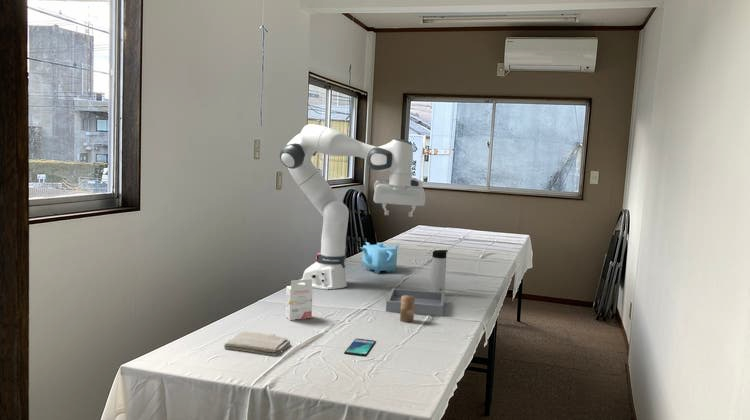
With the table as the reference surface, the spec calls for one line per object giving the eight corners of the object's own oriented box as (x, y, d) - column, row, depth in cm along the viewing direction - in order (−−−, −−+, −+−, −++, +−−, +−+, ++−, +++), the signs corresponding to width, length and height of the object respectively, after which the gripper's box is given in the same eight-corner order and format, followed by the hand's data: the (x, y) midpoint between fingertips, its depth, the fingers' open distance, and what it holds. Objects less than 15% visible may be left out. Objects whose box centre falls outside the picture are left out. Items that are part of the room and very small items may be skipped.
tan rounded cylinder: (399, 321, 218) (400, 298, 217) (400, 318, 223) (402, 294, 222) (413, 323, 217) (414, 299, 216) (413, 319, 222) (415, 295, 221)
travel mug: (444, 296, 259) (447, 251, 257) (429, 294, 260) (432, 250, 258) (445, 293, 265) (448, 249, 263) (430, 291, 267) (433, 247, 264)
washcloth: (277, 357, 176) (278, 347, 176) (222, 350, 180) (222, 340, 180) (291, 345, 188) (292, 336, 187) (239, 338, 191) (239, 329, 191)
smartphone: (376, 340, 194) (365, 355, 180) (376, 342, 194) (365, 357, 180) (355, 338, 196) (343, 352, 181) (355, 340, 196) (343, 355, 181)
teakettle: (393, 276, 295) (395, 247, 294) (356, 272, 298) (358, 244, 297) (398, 269, 314) (400, 241, 312) (364, 265, 317) (365, 238, 315)
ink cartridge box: (306, 315, 220) (308, 276, 218) (311, 318, 216) (313, 279, 214) (284, 317, 216) (286, 277, 215) (289, 321, 212) (290, 280, 210)
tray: (385, 311, 231) (386, 301, 230) (391, 297, 252) (392, 288, 252) (442, 316, 228) (443, 306, 228) (443, 302, 250) (444, 292, 249)
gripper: (373, 179, 230) (371, 214, 232) (425, 182, 227) (423, 218, 229) (375, 178, 236) (373, 213, 238) (426, 182, 234) (424, 216, 235)
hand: (398, 215), depth 233 cm, fingers open, 8 cm apart
